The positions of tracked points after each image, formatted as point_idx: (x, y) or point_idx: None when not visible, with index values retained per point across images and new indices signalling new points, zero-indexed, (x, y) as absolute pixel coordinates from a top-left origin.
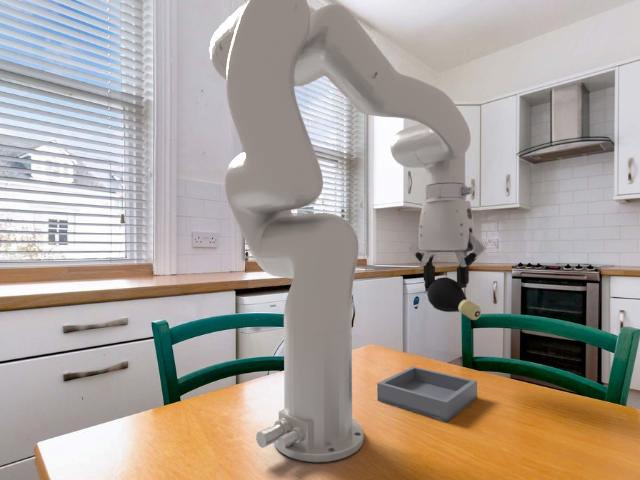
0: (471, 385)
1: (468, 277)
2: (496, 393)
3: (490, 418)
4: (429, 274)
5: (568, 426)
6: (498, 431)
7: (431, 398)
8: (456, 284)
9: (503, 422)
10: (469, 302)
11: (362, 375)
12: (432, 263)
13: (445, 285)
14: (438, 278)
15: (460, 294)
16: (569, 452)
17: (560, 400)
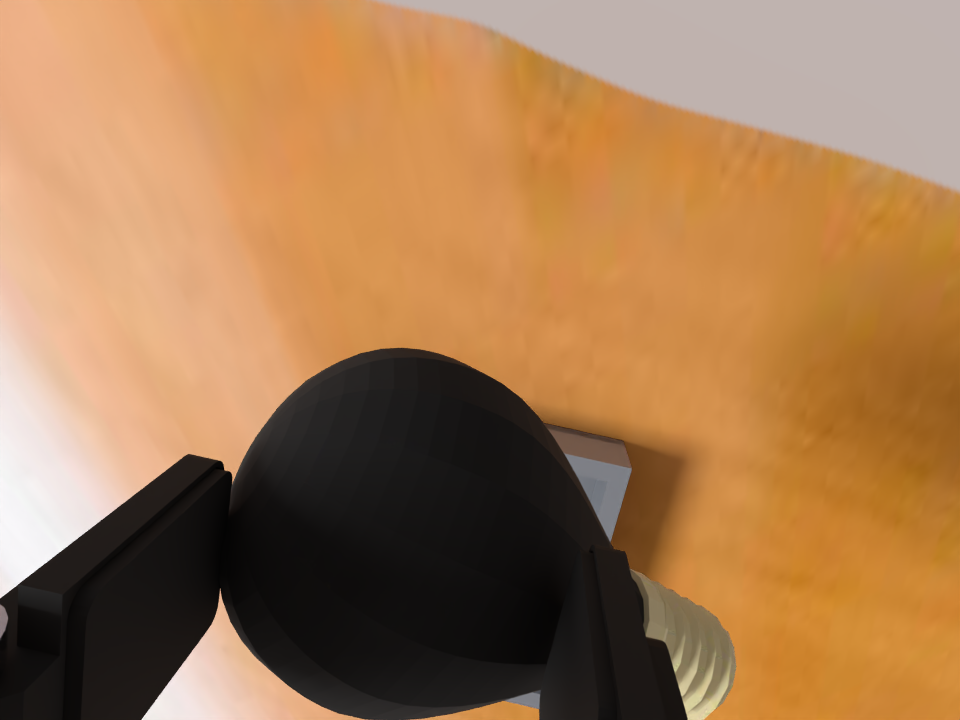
0: (615, 522)
1: (673, 684)
2: (691, 354)
3: (678, 588)
4: (149, 681)
5: (916, 543)
6: None
7: (507, 700)
8: (522, 647)
9: (718, 599)
10: None
11: (143, 407)
12: (28, 686)
13: (421, 715)
14: (284, 640)
15: None
16: (881, 698)
17: (942, 311)
